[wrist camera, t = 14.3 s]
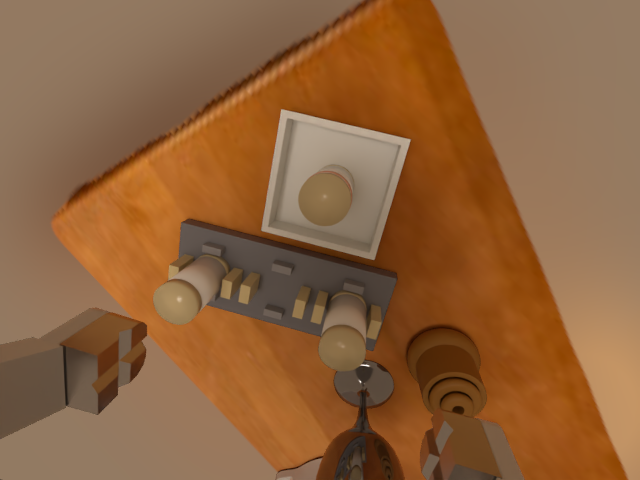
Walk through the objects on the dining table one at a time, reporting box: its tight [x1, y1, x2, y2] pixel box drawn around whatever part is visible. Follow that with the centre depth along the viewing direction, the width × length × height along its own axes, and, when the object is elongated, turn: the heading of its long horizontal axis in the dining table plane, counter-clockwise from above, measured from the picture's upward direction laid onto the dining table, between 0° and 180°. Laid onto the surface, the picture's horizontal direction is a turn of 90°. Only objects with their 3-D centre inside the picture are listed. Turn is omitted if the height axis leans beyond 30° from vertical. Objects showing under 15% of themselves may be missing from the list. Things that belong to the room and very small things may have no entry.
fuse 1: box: [153, 253, 231, 325], centre depth 32 cm, size 4×4×8 cm
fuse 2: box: [318, 290, 367, 371], centre depth 32 cm, size 4×4×8 cm
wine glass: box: [315, 360, 405, 480], centre depth 33 cm, size 8×8×15 cm
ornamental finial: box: [407, 328, 487, 417], centre depth 33 cm, size 8×8×8 cm
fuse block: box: [168, 219, 397, 351], centre depth 35 cm, size 9×23×4 cm, turn 77°
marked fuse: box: [298, 165, 355, 226], centre depth 29 cm, size 4×4×8 cm
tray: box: [261, 109, 411, 260], centre depth 31 cm, size 11×11×3 cm
